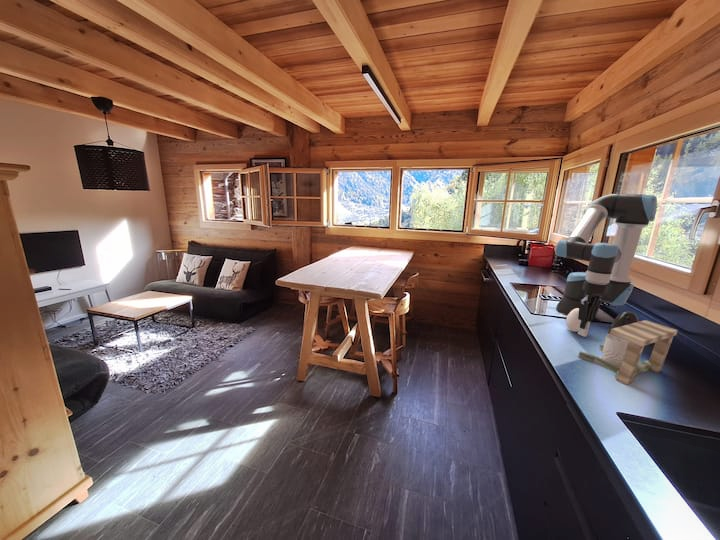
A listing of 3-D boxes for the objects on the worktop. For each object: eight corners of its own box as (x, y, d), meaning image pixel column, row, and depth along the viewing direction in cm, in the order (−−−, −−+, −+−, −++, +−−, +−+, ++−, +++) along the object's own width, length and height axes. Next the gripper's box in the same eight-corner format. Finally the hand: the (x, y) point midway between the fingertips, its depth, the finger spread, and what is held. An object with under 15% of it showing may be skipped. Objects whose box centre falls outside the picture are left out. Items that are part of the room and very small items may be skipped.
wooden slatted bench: (605, 347, 122) (616, 310, 118) (662, 371, 106) (677, 330, 102) (571, 357, 112) (581, 318, 108) (628, 386, 96) (643, 341, 92)
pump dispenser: (604, 343, 126) (614, 311, 122) (606, 335, 133) (615, 305, 129) (636, 352, 119) (647, 319, 115) (635, 343, 127) (646, 312, 123)
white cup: (598, 354, 116) (604, 332, 113) (623, 361, 112) (630, 338, 109) (600, 363, 110) (607, 340, 107) (627, 370, 105) (635, 346, 103)
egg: (562, 330, 136) (567, 307, 133) (566, 326, 141) (572, 304, 138) (580, 336, 131) (587, 312, 128) (584, 332, 136) (591, 309, 133)
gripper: (595, 277, 119) (581, 328, 126) (576, 280, 114) (563, 333, 120) (616, 283, 113) (601, 336, 119) (597, 286, 107) (582, 342, 114)
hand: (582, 334), depth 120 cm, fingers closed
